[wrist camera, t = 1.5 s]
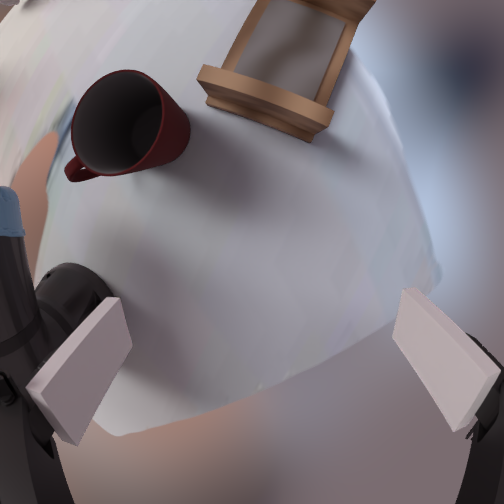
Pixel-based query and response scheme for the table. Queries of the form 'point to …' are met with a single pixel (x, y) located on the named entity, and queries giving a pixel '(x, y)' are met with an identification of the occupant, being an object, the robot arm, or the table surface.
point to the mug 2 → (125, 127)
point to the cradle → (286, 63)
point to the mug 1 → (9, 2)
